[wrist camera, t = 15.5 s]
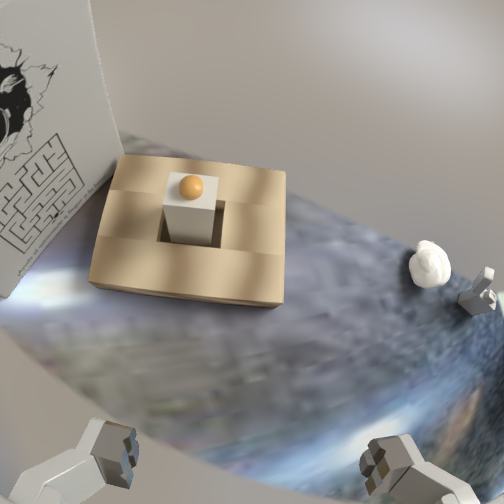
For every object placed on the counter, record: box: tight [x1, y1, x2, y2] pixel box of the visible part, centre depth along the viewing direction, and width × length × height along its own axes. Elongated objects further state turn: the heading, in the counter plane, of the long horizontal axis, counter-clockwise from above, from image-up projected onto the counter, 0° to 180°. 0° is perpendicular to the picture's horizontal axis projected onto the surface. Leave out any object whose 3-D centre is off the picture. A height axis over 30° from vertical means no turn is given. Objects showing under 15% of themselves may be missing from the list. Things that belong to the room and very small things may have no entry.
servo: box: [163, 172, 219, 246], centre depth 26 cm, size 4×3×9 cm
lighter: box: [458, 266, 497, 316], centre depth 30 cm, size 7×2×8 cm, turn 58°
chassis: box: [88, 154, 286, 308], centre depth 30 cm, size 18×14×3 cm
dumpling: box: [409, 240, 451, 288], centre depth 33 cm, size 7×5×4 cm
